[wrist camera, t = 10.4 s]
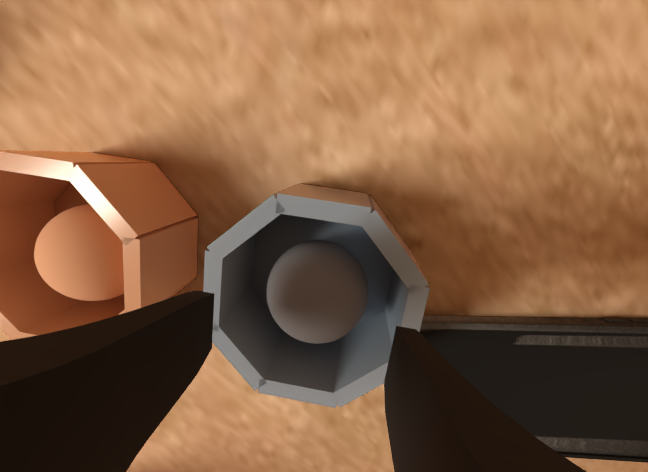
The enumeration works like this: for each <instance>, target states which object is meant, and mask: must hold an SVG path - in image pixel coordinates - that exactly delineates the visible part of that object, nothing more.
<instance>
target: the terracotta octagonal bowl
mask: <svg viewBox="0 0 648 472" xmlns="http://www.w3.org/2000/svg"><path fill="white" fill-rule="evenodd" d="M86 204H90V205H91V206H92V207H93V209H94V210H95V211H96V212H97V213H98V214H99V215H100V217H101V218H102V219H103V220H104V221H105V222H106V223H107V225H108V226H109V227H110V228H111V229H112V230H113V231H114V233H115V234H116V235H117V236H118V237H119V238H120V239H121V241H122V242H123V271H124V294H122V295H120V296H117V297H115V298H111V299H107V300H99V301H85V300H78V299H73V298H70V297H67V296H65V295H63V294H61V293H59V292H57V291H56V290H54V289H53V288H51V287H50V286H49V285H48V284H47V283H46V282H45V281H44V280H43V278H42V277H41V275H40V274H39V272H38V270H37V267H36V264H35V259H34V250H35V244H36V241H37V238H38V236H39V234H40V232H41V231H42V229H43V228H44V227H45V225H46V224H47V223H48V222H49V221H50V220H51V219H53V218H54V217H55V216H57V215H58V214H60V213H62V212H64V211H66V210H68V209H71V208H73V207H77V206H81V205H86ZM195 216H197V214H196V213H195V212H194V210H193V209H192V208H191V207H190V206H189V204H188V203H187V202H186V201H185V199H184V198H183V197H182V196H181V195H180V193H179V192H178V191H177V190H176V189H175V187H174V186H173V185H172V184H171V182H170V181H169V180H168V179H167V178H166V176H165V175H164V174H163V173H162V171H161V170H160V169H159V168H158V167H157V165H156V164H155V163H152V161H145V160H139V159H132V158H125V157H118V156H112V155H105V154H98V153H91V152H52V151H11V150H0V329H1V330H2V331H3V332H4V333H5V334H6V336H7V337H8V338H9V339H10V340H14V339H20V338H25V337H31V336H37V335H42V334H47V333H51V332H56V331H60V330H64V329H69V328H73V327H77V326H81V325H85V324H89V323H92V322H96V321H100V320H103V319H106V318H110V317H113V316H116V315H119V314H123V313H126V312H129V311H133V310H136V309H139V308H142V307H145V306H148V305H151V304H154V303H157V302H160V301H163V300H166V299H169V298H171V297H172V296H173V295H175V294H176V293H177V292H179V291H180V290H181V289H183V288H184V287H185V286H186V285H188V284H189V283H190V282H192V281H193V280H194V279H195V277H196V274H197V243H198V218H195Z"/></svg>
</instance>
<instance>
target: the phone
mask: <svg viewBox="0 0 648 472" xmlns="http://www.w3.org/2000/svg"><path fill="white" fill-rule="evenodd" d="M419 333H421V334H422V335H423V336H424V338H425V339H426V340H427V341H428V342H429V343H430V344H431V345H432V346H433V347H434V348H435V349H436V350H437V351H438V352H439V353H440V354H441V355H442V356H443V357H444V358H445V359H446V360H447V361H448V362H449V363H450V365H451V366H452V367H453V368H454V369H456V370H457V371H458V372H459V373H460V374H461V375H462V376H463V377H464V378H465V379H466V380H467V381H468V382H469V383H470V384H471V385H472V386H473V387H475V388H476V389H477V390H478V391H479V392H480V393H481V394H482V395H483V396H485V397H486V398H487V399H488V400H489V401H490V402H491V403H493V404H494V405H495V406H496V407H497V408H499V409H500V410H501V411H502V412H504V413H505V414H506V415H508V416H509V417H510V418H511V419H513V420H514V421H515V422H516V423H518V424H519V425H520V426H521V427H523V428H524V429H525V430H527V431H528V432H529V433H531V434H532V435H534V436H535V437H536V438H538V439H539V440H540V441H542V442H543V443H545V444H546V445H548V446H549V447H550V448H552V449H553V450H555V451H556V452H558V453H559V454H561V455H562V456H563V457H571V458H587V459H602V460H617V461H633V462H648V319H623V318H559V317H498V316H438V315H423V319H422V323H421V328H420V332H419Z"/></svg>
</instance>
